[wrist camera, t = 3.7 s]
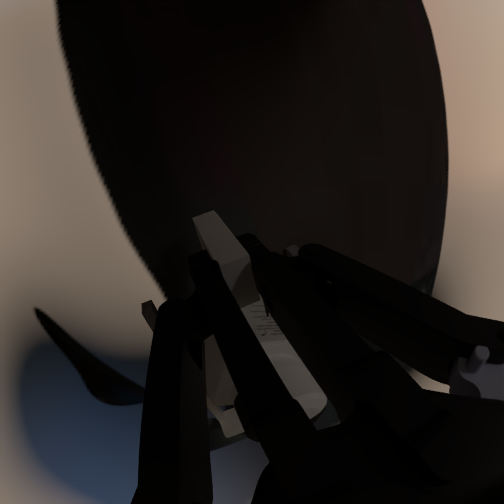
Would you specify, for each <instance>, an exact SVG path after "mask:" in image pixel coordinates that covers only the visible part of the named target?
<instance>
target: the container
mask: <svg viewBox="0 0 504 504" xmlns="http://www.w3.org/2000/svg"><path fill="white" fill-rule="evenodd" d="M259 296H260V301H257V302H255V303H253V304H250V305H248V306H245V307H243V308H241V310H242V312H243V314H244V316H245V318H246V319H247V321H248V323H249V325H250V326H251V328H252V330H253V332H254V333H255V335H256V337H257V339H258V340H259V342H260V344H261V346H262V347H263V349H264V351H265V352H266V354H267V356H268V358H269V359H270V361H271V363H272V364H273V366H274V368H275V369H276V371H277V373H278V374H279V376H280V378H281V379H282V381H283V383H284V384H285V386H286V388H287V389H288V391H289V393H290V394H291V396H292V397H293V398H294V399H296V400H297V401H298V402H299V403H300V405H301V406H302V408H303V409H304V411H305V412H306V414H307V416H308V417H309V419H310V420H311V422H312V423H314V422H315V421H316V420H317V419H318V417H319V416H320V415H321V414H322V412H323V411H324V410H325V407H326V403H327V397H326V395H325V394H324V392H323V391H322V389H321V388H320V387H319V385H318V384H317V382H316V381H315V379H314V378H313V376H312V375H311V374H310V372H309V371H308V369H307V368H306V366H305V365H304V363H303V362H302V360H301V359H300V357H299V356H298V355H297V353H296V352H295V350H294V349H293V347H292V346H291V344H290V343H289V341H288V340H287V339H286V337H285V336H284V334H283V333H282V331H281V330H280V328H279V327H278V325H277V324H276V322H275V321H274V319H273V318H272V316H271V315H270V313H269V317H267V315H266V311H265V307H264V303H263V299H262V297H261V295H260V294H259ZM204 342H205V367H206V387H207V390H208V393H209V396H210V399H211V402H212V404H213V405H214V406H223V405H231V404H233V406H234V408H235V410H236V413H237V415H238V417H239V420H240V422H241V424H242V427H243V429H244V431H245V434H246V436H247V437H248V438H249V439H252V440H254V441H256V442H259V440H258V438H257V435H256V433H255V431H254V429H253V427H252V425H251V422H250V419H249V416H248V414H247V412H246V410H245V408H244V406H243V403H242V401H241V399H240V397H239V394H238V392H237V390H236V388H235V385H234V383H233V381H232V378H231V376H230V374H229V371H228V369H227V367H226V364H225V362H224V359H223V357H222V355H221V352H220V350H219V347H218V345H217V342H216V340H215V337H214V335H211V336H210V337H208V338H207V339H206V340H204Z"/></svg>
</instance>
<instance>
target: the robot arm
mask: <svg viewBox="0 0 504 504" xmlns="http://www.w3.org/2000/svg"><path fill="white" fill-rule="evenodd" d="M192 219H193V222H194V225H195V228H196V231H197V234H198V237H199V240H200V243H201V246H202V249H203V251H200V252H197V253H195V254H192V255H189V258H188V264H189V267H190V274H191V277H192V279H193V282H194V284H195V287H196V289H195V292H194V293H193V294H192V295H191V296H190V297H189V298H188V299H186V300H185V301H184V300H183V299H180V298H172V299H169V300H167V301H165V302H164V303H163V304H162V305H161V306H160V307H159V309H158V312H157V317H156V322H155V328H154V333H153V339H152V345H151V351H150V357H149V364H148V371H147V378H146V386H145V394H144V402H143V412H142V423H141V433H140V447H139V467H138V487H137V489H136V492H135V494H134V497H133V499H132V502H131V504H212V502H213V486H212V475H211V463H210V450H209V435H208V418H207V397H206V367H205V342H204V340H206V339H207V338H208V337H210V336H211V335H214V337H215V340H216V342H217V345H218V347H219V350H220V352H221V355H222V357H223V359H224V362H225V364H226V367H227V369H228V371H229V374H230V376H231V378H232V381H233V383H234V385H235V388H236V390H237V392H238V394H239V397H240V399H241V401H242V403H243V406H244V408H245V410H246V412H247V414H248V416H249V419H250V422H251V425H252V427H253V429H254V431H255V433H256V435H257V438H258V440H259V442H260V444H261V446H262V448H263V450H264V451H265V454H266V455H267V458H268V460H269V464H268V465H267V466H266V467H265V469H264V470H263V472H262V474H261V476H260V478H259V480H258V483H257V486H256V489H255V493H254V496H253V499H252V502H251V504H504V322H502V321H497V320H492V319H487V318H482V317H477V316H472V315H467V314H465V313H463V312H461V311H459V310H457V309H455V308H453V307H451V306H449V305H447V304H445V303H443V302H441V301H439V300H437V299H435V298H433V297H431V296H429V295H427V294H425V293H423V292H421V291H419V290H417V289H415V288H413V287H411V286H409V285H407V284H405V283H403V282H401V281H398V280H396V279H394V278H392V277H390V276H388V275H386V274H384V273H382V272H379V271H377V270H375V269H373V268H371V267H369V266H367V265H364V264H362V263H360V262H358V261H356V260H353V259H351V258H349V257H347V256H345V255H342V254H340V253H338V252H336V251H334V250H331V249H329V248H327V247H325V246H322V245H319V244H307V245H304V246H302V247H301V248H300V249H299V250H298V256H294V257H288V258H283V257H282V256H281V255H280V254H278V253H276V252H270V251H269V250H268V249H267V248H266V247H265V246H264V245H263V244H262V243H261V242H260V241H259V240H258V239H257V237H256V236H255V235H252V234H249V233H246V234H244V235H241V236H238V237H235V236H234V235H233V234H232V232H231V231H230V230H229V229H228V227H227V226H226V225H225V224H224V222H223V221H222V220H221V219H220V217H219V216H218V215H217V213H216V212H215V211H214V210H213V211H210V212H207V213H205V214H202V215H199V216H196V217H193V218H192ZM327 280H329V281H330V282H332V284H330V283H328V282H327ZM259 294H260V295H261V297H262V299H263V303H264V307H265V311H266V315H267V317H269V313H270V315H271V316H272V318H273V319H274V321H275V322H276V324H277V325H278V327H279V328H280V330H281V331H282V333H283V334H284V336H285V337H286V339H287V340H288V341H289V343H290V344H291V346H292V347H293V349H294V350H295V352H296V353H297V355H298V356H299V357H300V359H301V360H302V362H303V363H304V365H305V366H306V368H307V369H308V370H309V372H310V373H311V375H312V376H313V378H314V379H315V381H316V382H317V383H318V385H319V386H320V388H321V389H322V391H323V392H324V393H325V395H326V396H327V398H328V399H329V400H330V402H331V403H332V405H333V406H334V408H335V409H336V411H337V414H338V417H339V419H340V422H341V423H340V424H338V425H335V426H332V427H328V428H325V429H322V430H318V431H317V430H316V428H315V427H314V425H313V423H312V422H311V420H310V419H309V417H308V416H307V414H306V412H305V411H304V409H303V408H302V406H301V405H300V403H299V402H298V401H297V400H296V399H294V398H293V397H292V396H291V394H290V393H289V391H288V389H287V388H286V386H285V384H284V383H283V381H282V379H281V378H280V376H279V374H278V373H277V371H276V369H275V368H274V366H273V364H272V363H271V361H270V359H269V358H268V356H267V354H266V352H265V351H264V349H263V347H262V346H261V344H260V342H259V340H258V339H257V337H256V335H255V333H254V332H253V330H252V328H251V326H250V325H249V323H248V321H247V319H246V318H245V316H244V314H243V312H242V310H241V308H243V307H245V306H248V305H250V304H253V303H255V302H257V301H260V296H259ZM356 332H357V333H358V334H360V335H361V336H363V337H365V338H366V339H368V340H369V341H371V342H372V343H374V344H376V345H377V346H379V347H380V348H382V349H383V350H385V351H387V352H388V353H390V354H391V355H393V356H394V357H396V358H398V359H399V360H401V361H402V362H404V363H406V364H407V365H409V366H410V367H412V368H414V369H415V370H417V371H418V372H420V373H422V374H424V375H425V376H427V377H429V378H431V379H433V380H435V381H438V382H440V383H443V384H447V385H449V386H450V389H449V393H450V394H449V393H443V392H437V391H431V390H426V389H422V388H421V387H420V386H419V385H418V383H417V382H416V381H415V380H414V379H413V378H412V377H411V376H410V375H409V374H408V373H407V372H406V371H405V370H404V369H403V368H402V367H401V366H400V365H399V364H398V363H397V362H396V361H395V360H394V359H393V357H392V356H391V355H389V354H388V353H387V352H385V351H382V350H381V351H377V352H375V351H373V350H372V349H371V348H370V347H369V346H368V345H367V344H366V343H365V342H364V341H363V340H362V339H361V337H360V336H359V335H358V334H357V333H356Z"/></svg>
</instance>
